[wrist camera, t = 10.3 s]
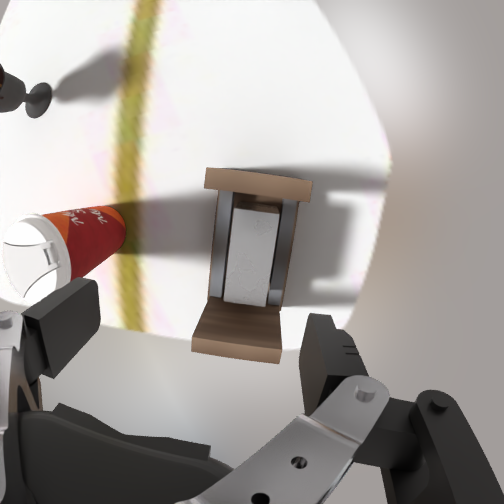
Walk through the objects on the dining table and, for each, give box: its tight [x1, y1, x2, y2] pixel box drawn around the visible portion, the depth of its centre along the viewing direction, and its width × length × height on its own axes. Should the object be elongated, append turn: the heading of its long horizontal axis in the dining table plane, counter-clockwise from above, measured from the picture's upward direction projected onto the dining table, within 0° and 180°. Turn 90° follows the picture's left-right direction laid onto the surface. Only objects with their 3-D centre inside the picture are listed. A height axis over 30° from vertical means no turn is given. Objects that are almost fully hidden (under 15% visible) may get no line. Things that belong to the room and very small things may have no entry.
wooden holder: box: [191, 167, 313, 364], centre depth 27 cm, size 14×8×11 cm, turn 173°
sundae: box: [0, 64, 51, 118], centre depth 21 cm, size 7×7×15 cm
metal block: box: [224, 201, 280, 307], centre depth 28 cm, size 8×4×6 cm, turn 172°
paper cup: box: [2, 206, 126, 304], centre depth 26 cm, size 8×8×14 cm
